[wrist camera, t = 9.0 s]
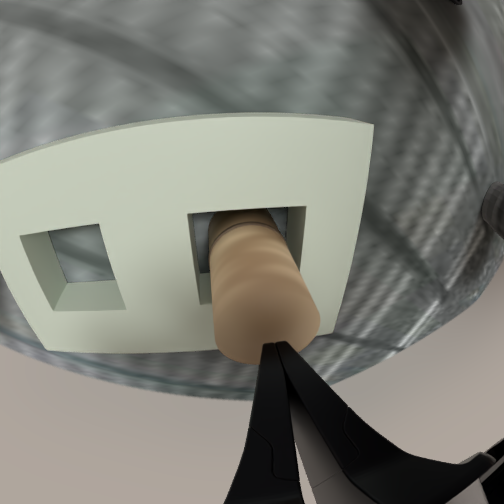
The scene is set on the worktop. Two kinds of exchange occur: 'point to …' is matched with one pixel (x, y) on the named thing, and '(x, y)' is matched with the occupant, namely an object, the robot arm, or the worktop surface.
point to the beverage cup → (494, 208)
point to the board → (175, 220)
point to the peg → (256, 287)
